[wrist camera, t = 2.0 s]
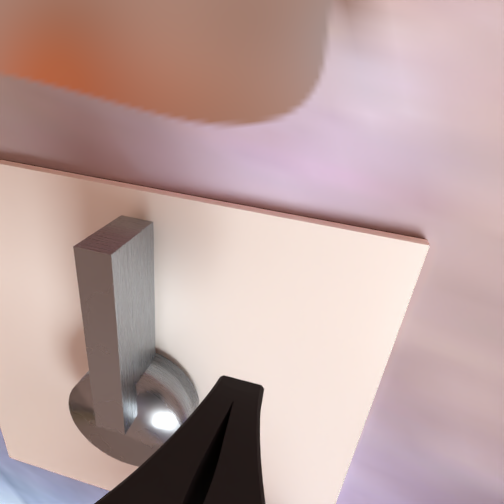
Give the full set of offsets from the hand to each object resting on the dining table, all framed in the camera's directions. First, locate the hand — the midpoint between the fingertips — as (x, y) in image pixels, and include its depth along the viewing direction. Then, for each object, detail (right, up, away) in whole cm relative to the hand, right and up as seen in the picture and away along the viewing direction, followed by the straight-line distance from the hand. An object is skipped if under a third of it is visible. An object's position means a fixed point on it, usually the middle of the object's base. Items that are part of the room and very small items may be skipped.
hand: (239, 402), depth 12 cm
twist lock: (-5, 0, +6) cm, 8 cm away
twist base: (-5, -2, +9) cm, 10 cm away
